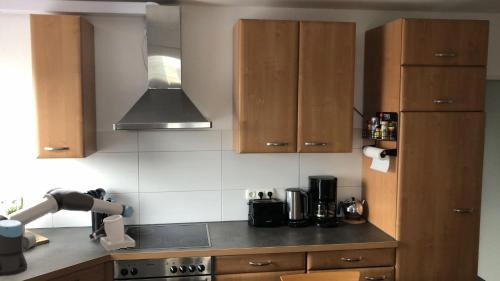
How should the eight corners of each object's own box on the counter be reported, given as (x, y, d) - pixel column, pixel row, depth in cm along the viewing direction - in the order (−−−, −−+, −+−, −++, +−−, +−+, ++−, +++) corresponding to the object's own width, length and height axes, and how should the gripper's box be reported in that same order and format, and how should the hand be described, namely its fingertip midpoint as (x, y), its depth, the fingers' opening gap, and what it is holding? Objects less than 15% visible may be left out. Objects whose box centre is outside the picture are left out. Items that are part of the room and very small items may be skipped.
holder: (107, 251, 241) (107, 245, 240) (100, 243, 254) (100, 237, 254) (135, 247, 249) (135, 241, 249) (126, 239, 263) (126, 234, 262)
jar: (130, 238, 254) (125, 214, 252) (119, 246, 245) (114, 221, 242) (115, 238, 258) (110, 214, 256) (103, 245, 249) (99, 221, 246)
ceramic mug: (37, 246, 247) (37, 232, 246) (29, 250, 239) (29, 236, 238) (19, 245, 247) (18, 232, 247) (10, 250, 239) (10, 236, 238)
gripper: (128, 223, 278) (129, 228, 258) (89, 240, 271) (87, 247, 250) (123, 212, 277) (124, 217, 257) (85, 229, 270) (82, 235, 250)
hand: (106, 232), depth 254 cm, fingers open, 13 cm apart
